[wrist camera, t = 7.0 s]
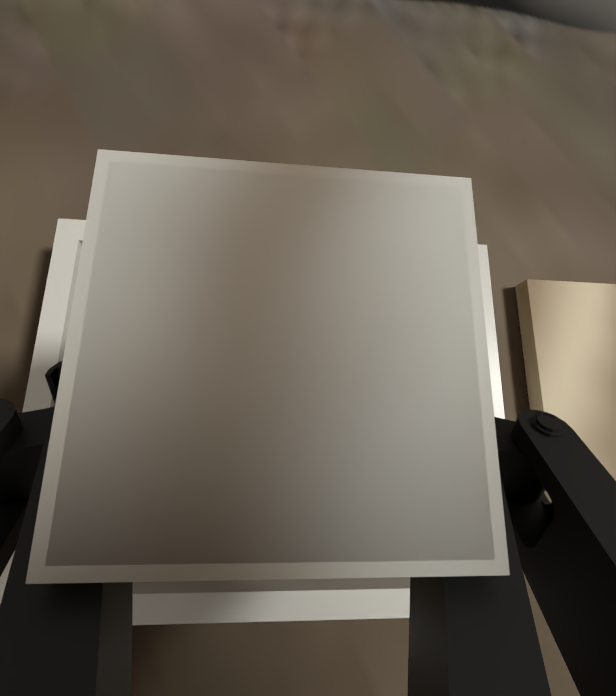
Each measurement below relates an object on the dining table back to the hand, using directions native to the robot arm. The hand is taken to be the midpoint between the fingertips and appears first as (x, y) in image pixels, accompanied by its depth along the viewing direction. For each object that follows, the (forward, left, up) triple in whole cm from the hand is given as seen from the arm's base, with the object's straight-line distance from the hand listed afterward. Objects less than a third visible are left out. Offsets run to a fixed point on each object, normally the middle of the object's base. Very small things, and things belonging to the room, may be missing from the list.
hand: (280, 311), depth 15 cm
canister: (0, +4, -4) cm, 5 cm away
